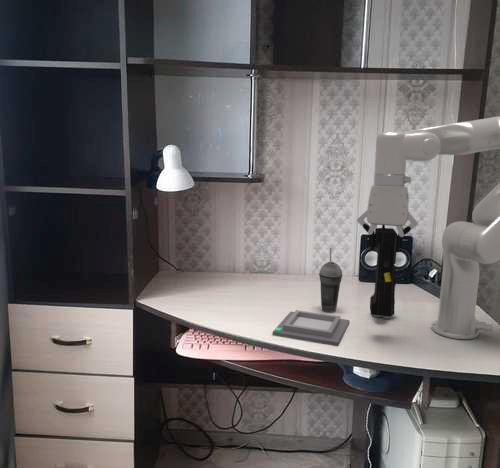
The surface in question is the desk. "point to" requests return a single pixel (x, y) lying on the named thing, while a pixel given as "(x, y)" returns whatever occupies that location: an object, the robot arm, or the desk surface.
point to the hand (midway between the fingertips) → (385, 249)
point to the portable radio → (384, 273)
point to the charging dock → (312, 327)
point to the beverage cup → (330, 285)
